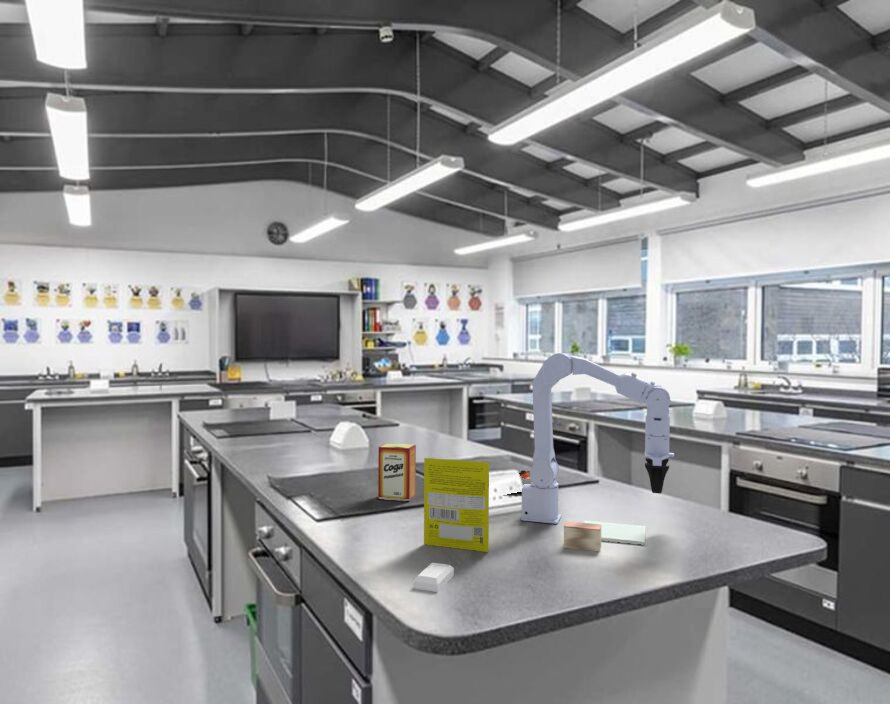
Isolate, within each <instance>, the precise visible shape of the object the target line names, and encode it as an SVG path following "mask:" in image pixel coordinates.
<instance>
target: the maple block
mask: <svg viewBox="0 0 890 704" xmlns="http://www.w3.org/2000/svg"><path fill="white" fill-rule="evenodd" d="M566 547H567V548H566ZM601 547H602V541H601V524H590V523H584V522H577V521H565V522H564V525H563V548H566V549H575V548H578V549H577V550H584V549H586V551H593V550H596V552H601V549H600V548H601Z"/></svg>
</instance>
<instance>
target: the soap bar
mask: <svg viewBox="0 0 890 704" xmlns="http://www.w3.org/2000/svg"><path fill="white" fill-rule="evenodd" d="M454 576H455V568H454V566H451V565H450V564H445V563H436V562H432V563H430V564H429V565H428V566H427V567H425V568H424V569H423V570H422V571H421V572H420V573H419V574H417V576H416V577H415V579H413V580H412V581H413V582H412V585H413V586H412V587H413V589H414V590H422V591H427V592H428V591H429V592H435V593H439V591H440V590H441V589H443V587H444V586H445V585H446V584H447V583H448V582H449V581H450V580H451V579H452V578H453V577H454Z"/></svg>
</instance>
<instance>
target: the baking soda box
mask: <svg viewBox="0 0 890 704" xmlns="http://www.w3.org/2000/svg"><path fill="white" fill-rule="evenodd" d="M416 450H417V444H409V443H384V444H381V445H380V446H378V462H377V463H378V464H377V466H378V474H377V475H378V477H377V478H378V481H377V483H378V484H377V485H378V486H377V488H378V493H377V496H378V497H387V498H400V499H410V498H411V497H412V496H414V495H415V494H416V492H417V491H416V485H417V484H416V482H417V481H416V479H417V478H416V477H417V476H416V475H417V474H416V473H417V471H416V468H417V466H416V465H417V464H416V463H417V462H416V461H417V454H416V453H417V451H416ZM378 497H377V498H378Z"/></svg>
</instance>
